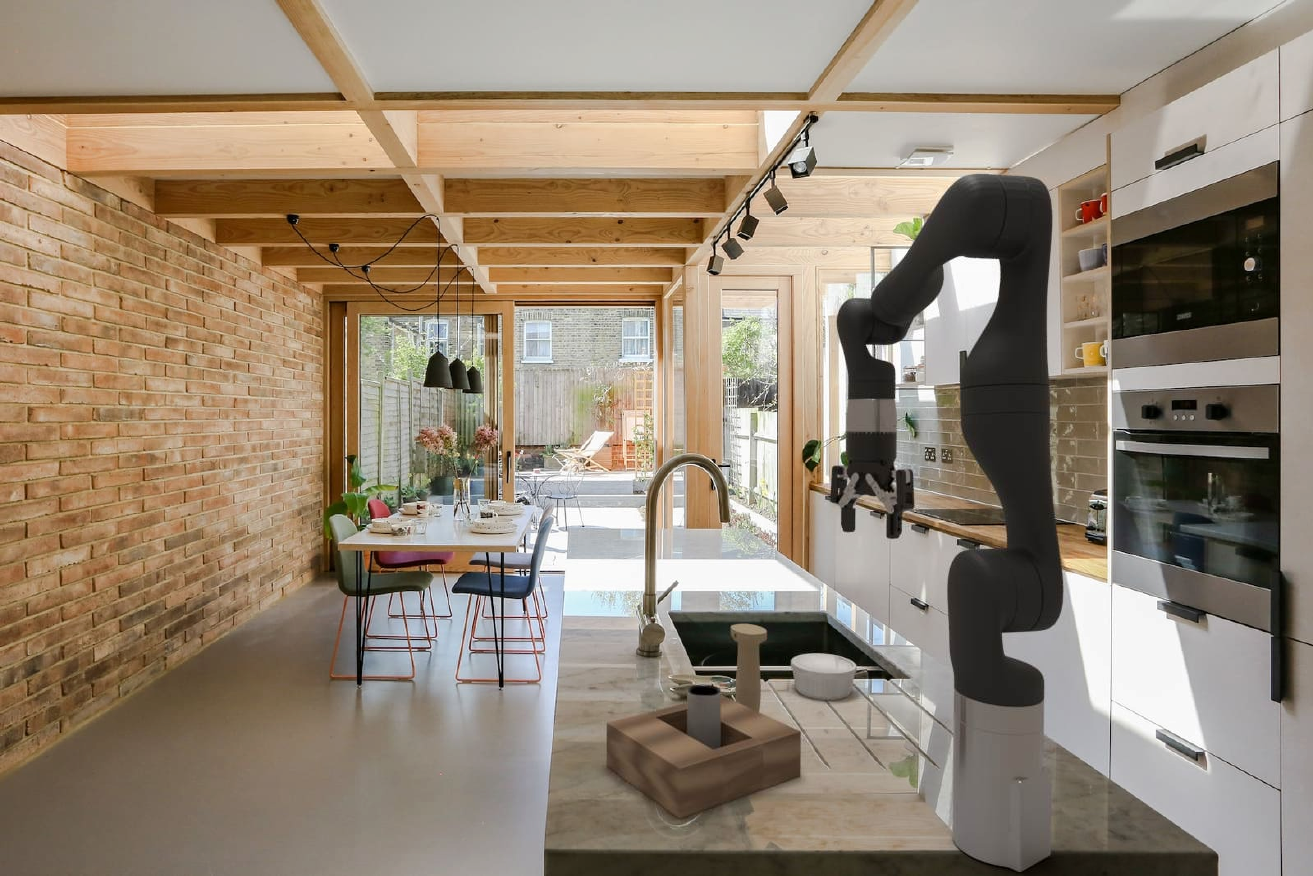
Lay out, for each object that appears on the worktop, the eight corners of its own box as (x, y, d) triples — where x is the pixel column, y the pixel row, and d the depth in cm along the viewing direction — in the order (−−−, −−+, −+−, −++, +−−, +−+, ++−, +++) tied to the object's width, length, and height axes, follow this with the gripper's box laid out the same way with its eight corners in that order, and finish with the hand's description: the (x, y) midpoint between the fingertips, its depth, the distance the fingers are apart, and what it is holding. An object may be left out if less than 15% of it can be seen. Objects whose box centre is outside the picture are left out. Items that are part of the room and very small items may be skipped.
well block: (800, 776, 103) (800, 731, 103) (679, 818, 92) (679, 768, 92) (720, 733, 117) (720, 694, 117) (606, 766, 106) (606, 722, 106)
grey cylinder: (699, 755, 108) (700, 682, 108) (726, 764, 105) (727, 689, 105) (680, 766, 104) (680, 690, 104) (707, 776, 101) (708, 698, 101)
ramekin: (869, 698, 133) (869, 668, 133) (814, 707, 129) (814, 675, 129) (831, 678, 144) (831, 650, 143) (779, 685, 139) (779, 656, 139)
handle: (745, 734, 117) (746, 635, 117) (724, 719, 123) (724, 625, 123) (772, 729, 119) (773, 632, 119) (749, 714, 125) (750, 622, 125)
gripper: (926, 429, 115) (925, 539, 115) (852, 429, 126) (851, 528, 127) (893, 429, 110) (892, 543, 111) (819, 429, 122) (818, 531, 122)
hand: (870, 535), depth 119 cm, fingers open, 8 cm apart
